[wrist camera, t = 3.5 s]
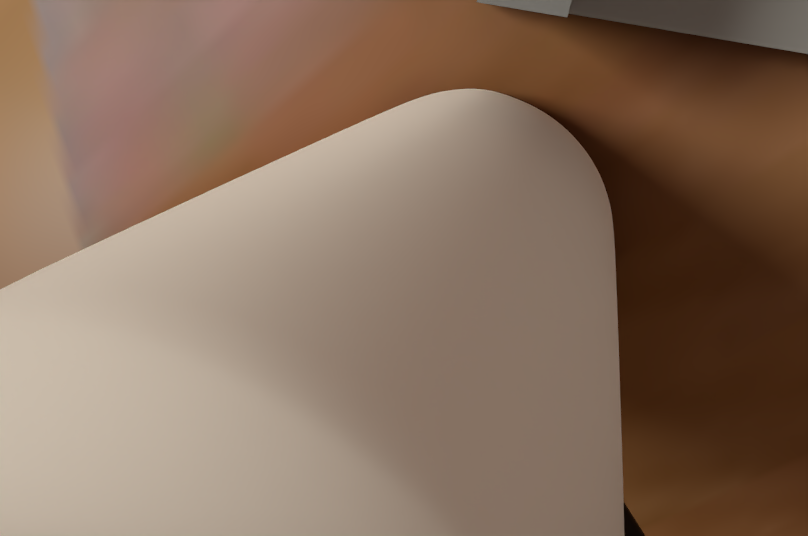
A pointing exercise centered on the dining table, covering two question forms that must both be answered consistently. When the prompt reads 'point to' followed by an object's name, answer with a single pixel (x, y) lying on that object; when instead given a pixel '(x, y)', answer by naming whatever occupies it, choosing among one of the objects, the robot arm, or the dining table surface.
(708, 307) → the dining table surface
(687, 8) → the u rest
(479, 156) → the can
